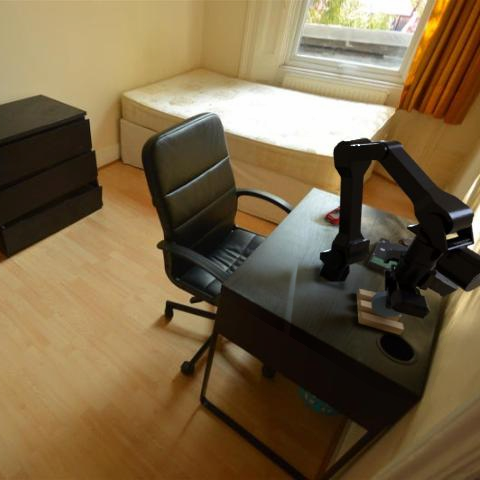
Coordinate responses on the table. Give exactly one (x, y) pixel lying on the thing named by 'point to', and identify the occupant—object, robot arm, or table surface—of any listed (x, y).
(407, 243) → the decorative disc
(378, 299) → the blue disc
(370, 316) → the rack
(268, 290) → the table surface
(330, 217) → the race car
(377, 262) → the disk drive
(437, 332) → the table surface
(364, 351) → the table surface
